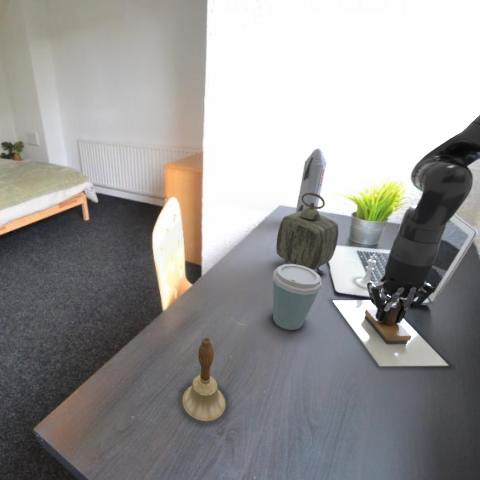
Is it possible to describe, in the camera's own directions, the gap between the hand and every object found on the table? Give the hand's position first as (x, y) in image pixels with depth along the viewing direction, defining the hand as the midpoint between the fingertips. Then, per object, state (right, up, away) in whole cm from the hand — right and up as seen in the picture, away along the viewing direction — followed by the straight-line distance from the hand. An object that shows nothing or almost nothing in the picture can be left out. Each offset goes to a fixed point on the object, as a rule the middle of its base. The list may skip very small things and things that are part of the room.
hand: (388, 320), depth 76 cm
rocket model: (+5, +24, +57) cm, 62 cm away
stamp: (0, -3, +1) cm, 3 cm away
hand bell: (-44, -12, -14) cm, 48 cm away
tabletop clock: (-10, +9, +26) cm, 30 cm away
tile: (0, -3, +2) cm, 4 cm away
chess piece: (+6, +5, +19) cm, 21 cm away
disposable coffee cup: (-21, -2, +5) cm, 22 cm away
